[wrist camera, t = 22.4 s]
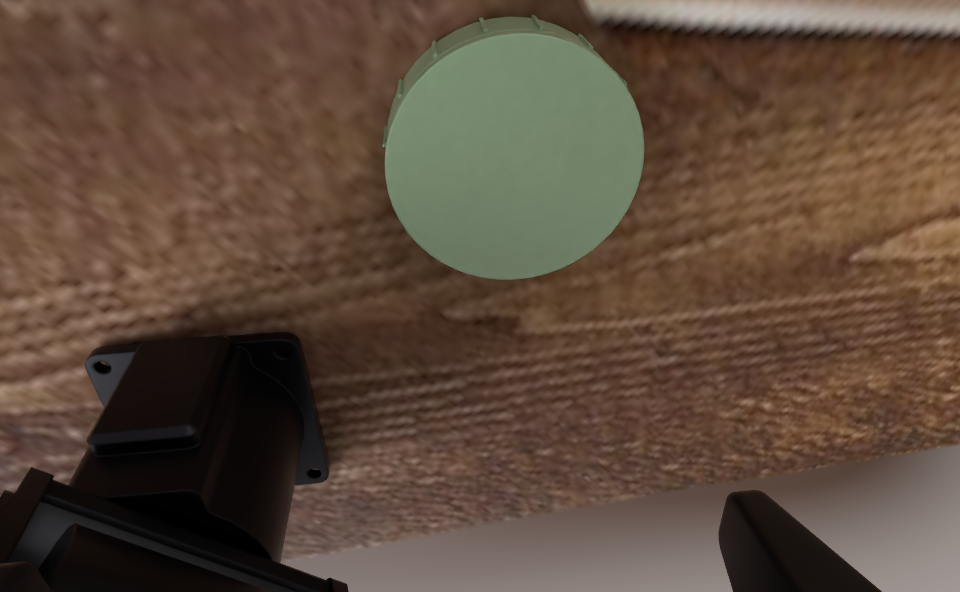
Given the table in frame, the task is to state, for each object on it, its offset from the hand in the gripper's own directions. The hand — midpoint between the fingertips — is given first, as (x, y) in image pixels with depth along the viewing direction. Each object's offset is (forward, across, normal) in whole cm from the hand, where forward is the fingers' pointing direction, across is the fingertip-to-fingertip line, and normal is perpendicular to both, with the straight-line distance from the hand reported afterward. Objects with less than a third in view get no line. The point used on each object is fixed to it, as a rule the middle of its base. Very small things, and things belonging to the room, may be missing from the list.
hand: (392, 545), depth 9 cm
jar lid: (+10, -3, -1) cm, 11 cm away
